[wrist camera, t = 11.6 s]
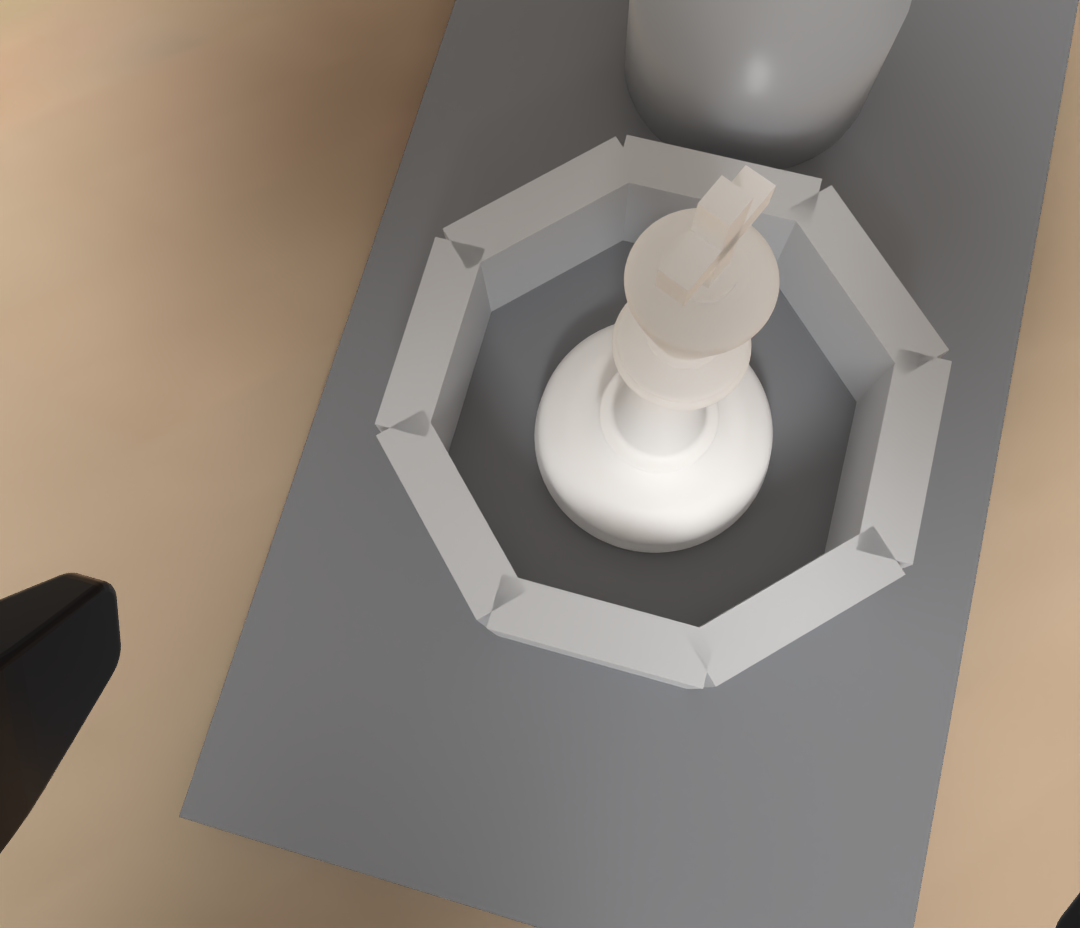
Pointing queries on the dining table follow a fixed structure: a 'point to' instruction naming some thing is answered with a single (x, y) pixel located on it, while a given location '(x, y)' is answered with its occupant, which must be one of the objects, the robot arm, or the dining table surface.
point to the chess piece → (670, 384)
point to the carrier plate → (640, 577)
